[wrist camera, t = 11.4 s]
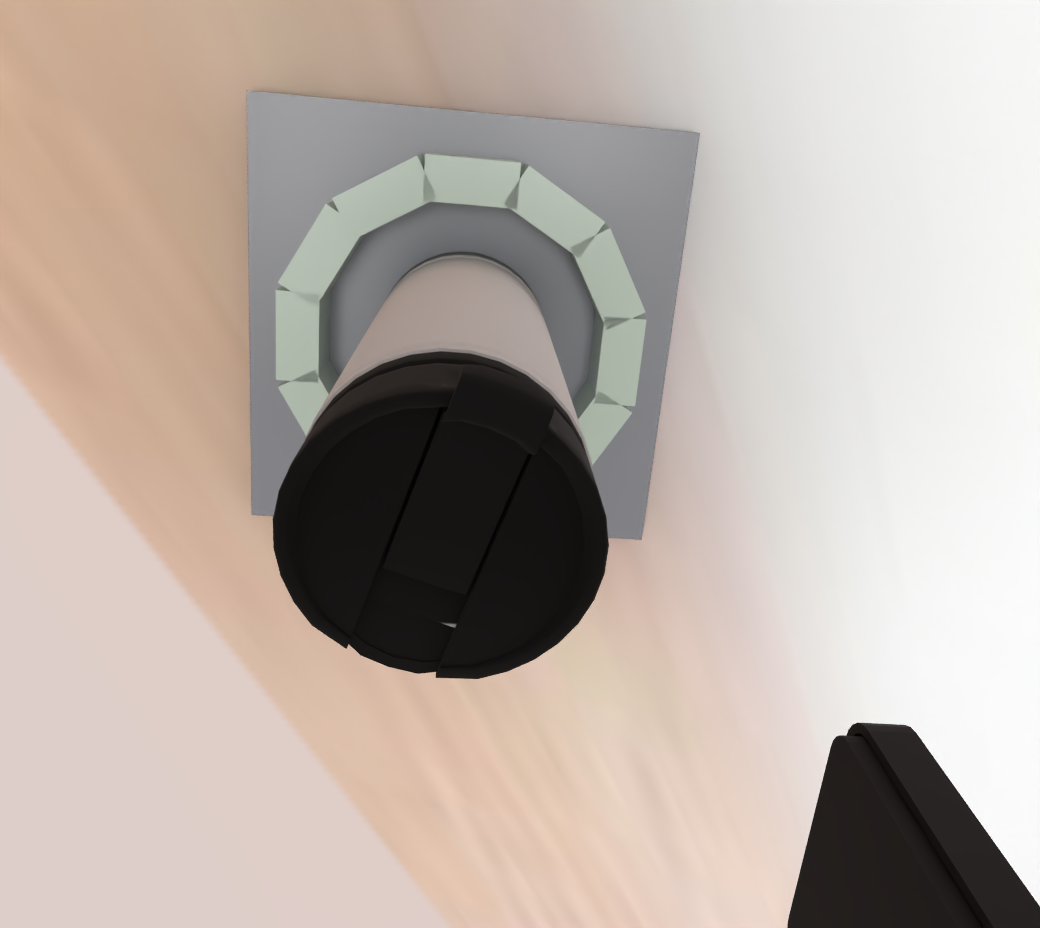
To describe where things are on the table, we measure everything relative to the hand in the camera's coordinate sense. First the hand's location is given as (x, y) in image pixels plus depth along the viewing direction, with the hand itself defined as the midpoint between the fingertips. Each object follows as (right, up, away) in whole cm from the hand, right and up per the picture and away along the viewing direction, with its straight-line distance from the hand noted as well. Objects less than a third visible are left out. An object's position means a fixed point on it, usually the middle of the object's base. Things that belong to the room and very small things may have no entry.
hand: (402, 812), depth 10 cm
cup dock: (-1, +9, +26) cm, 28 cm away
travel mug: (-1, +9, +25) cm, 27 cm away
